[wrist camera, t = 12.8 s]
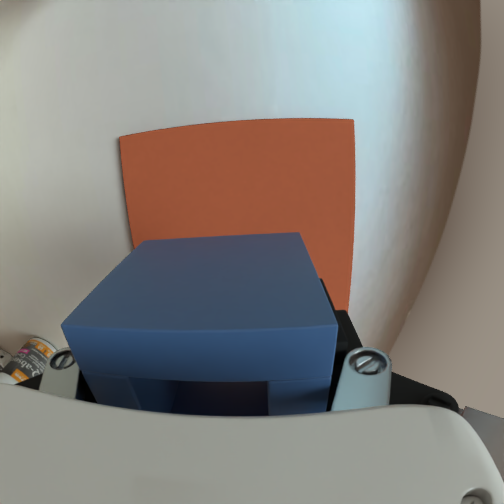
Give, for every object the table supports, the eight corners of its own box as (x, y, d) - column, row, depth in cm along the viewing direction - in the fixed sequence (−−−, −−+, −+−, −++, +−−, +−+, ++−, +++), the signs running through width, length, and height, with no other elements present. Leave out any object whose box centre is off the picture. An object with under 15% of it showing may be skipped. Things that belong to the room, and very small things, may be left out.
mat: (352, 119, 18) (354, 119, 18) (344, 326, 24) (346, 328, 23) (121, 136, 19) (118, 136, 18) (154, 332, 24) (153, 334, 24)
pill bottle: (60, 342, 25) (11, 404, 16) (73, 380, 27) (35, 441, 18) (23, 330, 25) (-25, 383, 16) (37, 368, 27) (-2, 421, 18)
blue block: (299, 231, 11) (339, 324, 5) (297, 358, 13) (314, 471, 7) (143, 240, 11) (59, 324, 6) (170, 360, 13) (134, 464, 8)
